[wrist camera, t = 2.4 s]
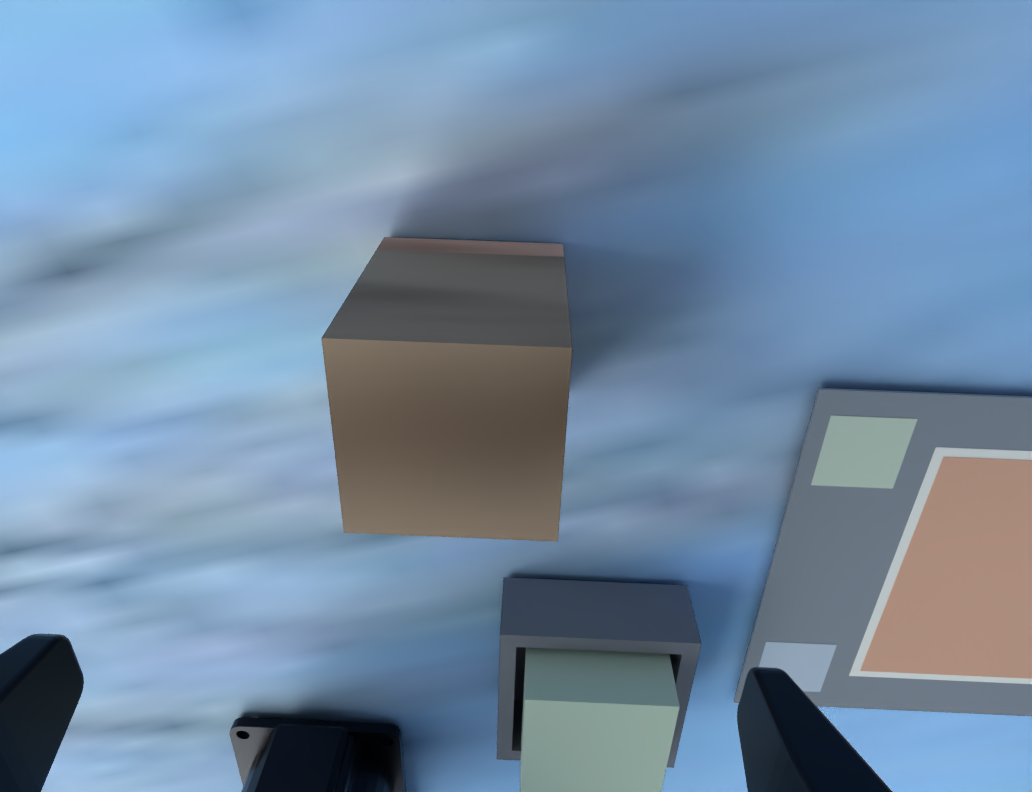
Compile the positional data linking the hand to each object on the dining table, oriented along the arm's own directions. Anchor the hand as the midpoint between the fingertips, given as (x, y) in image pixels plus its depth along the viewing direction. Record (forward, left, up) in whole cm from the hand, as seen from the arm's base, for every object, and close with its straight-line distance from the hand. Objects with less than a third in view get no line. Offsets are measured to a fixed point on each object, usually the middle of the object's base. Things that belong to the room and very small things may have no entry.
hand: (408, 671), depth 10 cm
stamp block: (0, 0, -11) cm, 11 cm away
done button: (-12, -4, -9) cm, 16 cm away
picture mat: (-8, -17, -11) cm, 22 cm away
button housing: (-12, -4, -11) cm, 17 cm away
